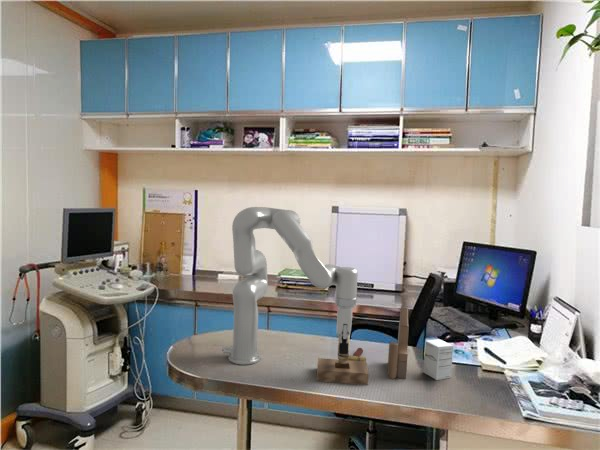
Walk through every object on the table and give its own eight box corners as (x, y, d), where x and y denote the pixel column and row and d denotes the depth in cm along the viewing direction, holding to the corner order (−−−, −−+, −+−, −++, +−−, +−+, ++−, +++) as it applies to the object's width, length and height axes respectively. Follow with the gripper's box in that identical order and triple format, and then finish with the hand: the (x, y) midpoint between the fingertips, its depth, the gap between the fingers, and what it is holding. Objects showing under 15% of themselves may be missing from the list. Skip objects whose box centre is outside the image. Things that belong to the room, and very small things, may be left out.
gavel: (350, 341, 181) (373, 345, 178) (349, 352, 181) (372, 356, 178) (338, 354, 161) (364, 359, 158) (338, 366, 161) (363, 371, 158)
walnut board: (316, 380, 147) (317, 369, 147) (317, 368, 158) (318, 358, 158) (367, 384, 146) (368, 373, 145) (365, 372, 157) (365, 361, 156)
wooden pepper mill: (337, 364, 150) (338, 331, 149) (337, 359, 154) (338, 327, 153) (348, 364, 149) (350, 332, 149) (348, 360, 153) (349, 328, 153)
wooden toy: (387, 362, 167) (390, 301, 165) (404, 364, 166) (408, 302, 164) (387, 378, 152) (391, 311, 150) (406, 380, 151) (410, 313, 149)
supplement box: (422, 372, 159) (424, 340, 158) (437, 370, 162) (440, 338, 161) (436, 380, 152) (438, 346, 151) (451, 378, 155) (454, 344, 154)
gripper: (335, 295, 159) (332, 342, 160) (335, 307, 142) (333, 359, 143) (354, 297, 158) (352, 344, 159) (357, 308, 141) (354, 360, 143)
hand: (343, 350), depth 151 cm, fingers closed on wooden pepper mill, 4 cm apart
